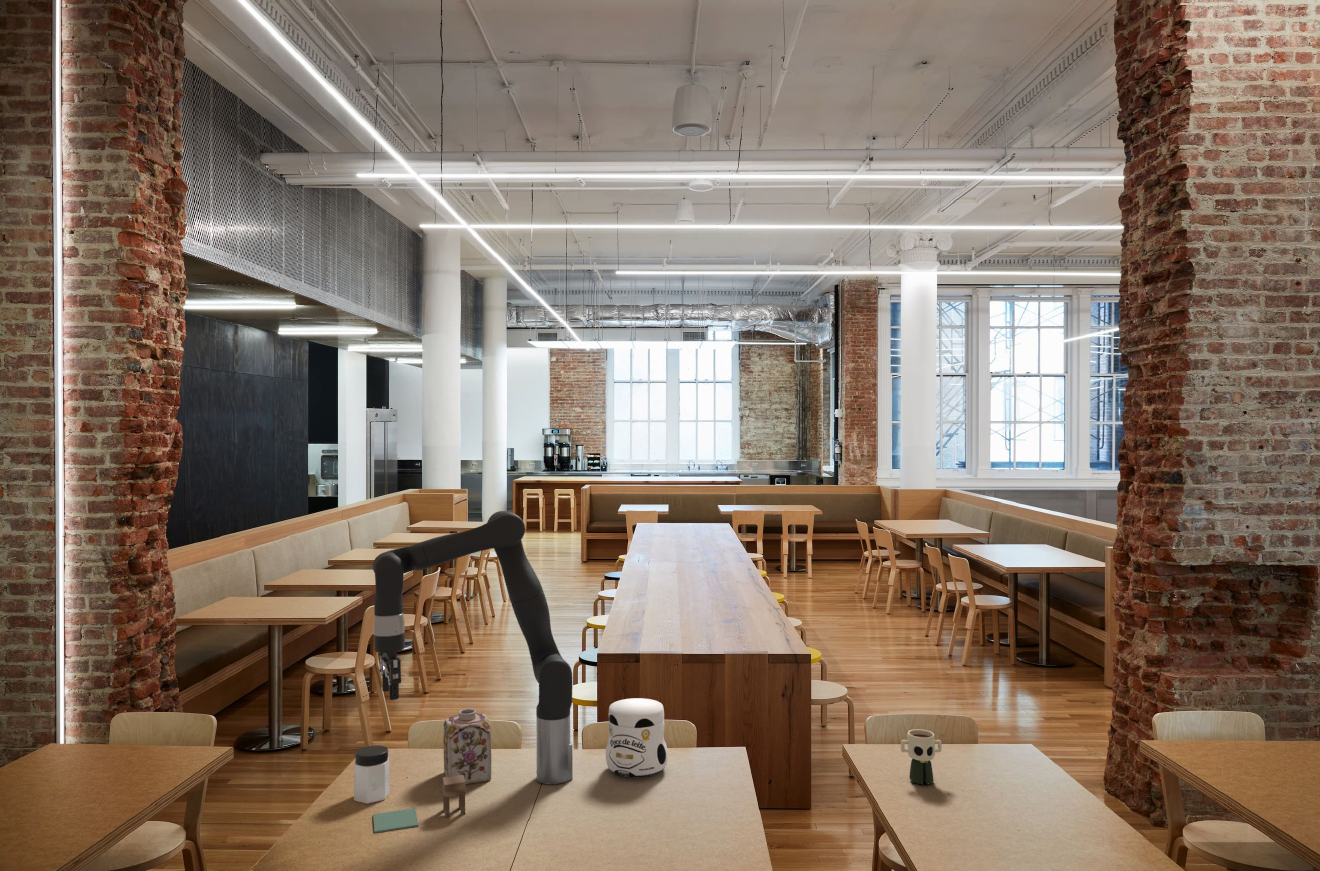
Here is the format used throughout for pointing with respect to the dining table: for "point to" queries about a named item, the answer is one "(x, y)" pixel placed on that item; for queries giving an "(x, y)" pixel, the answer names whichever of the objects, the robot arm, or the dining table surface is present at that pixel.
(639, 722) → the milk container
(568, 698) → the robot arm
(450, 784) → the pronged tan cube
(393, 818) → the mat
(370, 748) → the jar
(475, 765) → the decorative jar
